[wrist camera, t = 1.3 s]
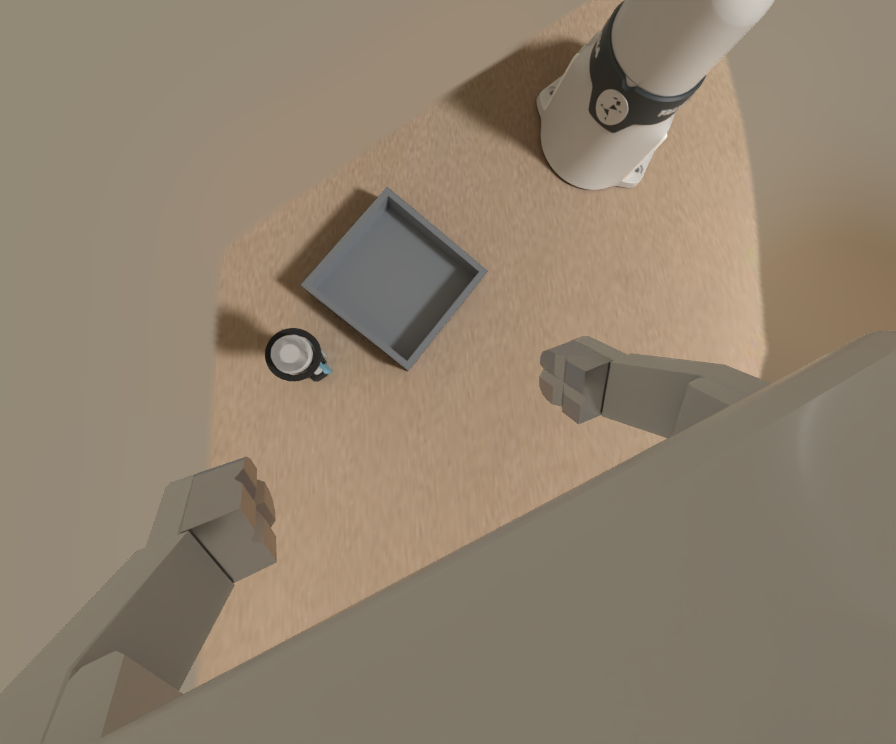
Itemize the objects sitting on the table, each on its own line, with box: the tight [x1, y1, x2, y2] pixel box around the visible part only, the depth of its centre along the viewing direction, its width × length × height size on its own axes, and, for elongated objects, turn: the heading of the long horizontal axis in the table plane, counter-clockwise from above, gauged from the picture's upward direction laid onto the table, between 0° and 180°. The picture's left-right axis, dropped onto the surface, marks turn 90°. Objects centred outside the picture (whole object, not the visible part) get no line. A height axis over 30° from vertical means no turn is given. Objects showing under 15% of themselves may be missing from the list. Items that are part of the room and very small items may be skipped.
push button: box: [265, 328, 332, 381], centre depth 38 cm, size 7×5×10 cm
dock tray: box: [301, 187, 488, 371], centre depth 43 cm, size 16×16×4 cm
